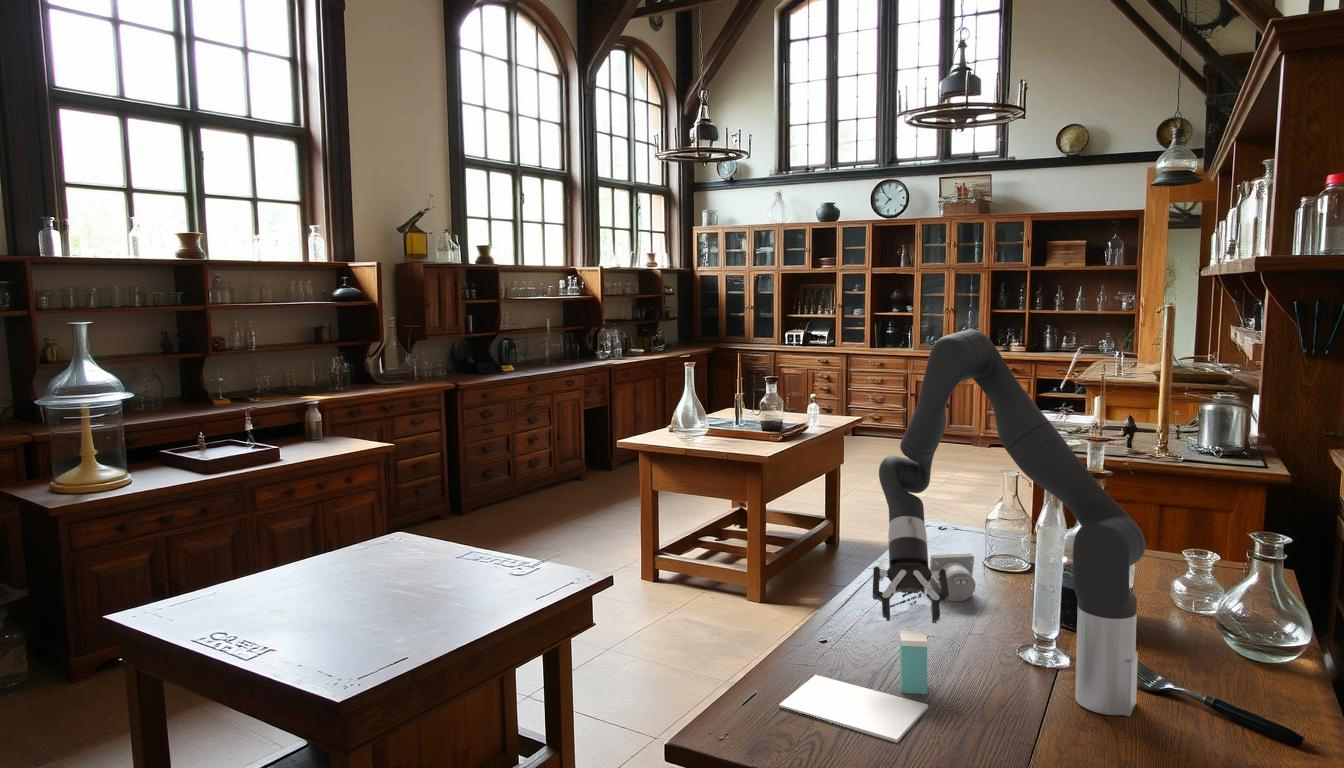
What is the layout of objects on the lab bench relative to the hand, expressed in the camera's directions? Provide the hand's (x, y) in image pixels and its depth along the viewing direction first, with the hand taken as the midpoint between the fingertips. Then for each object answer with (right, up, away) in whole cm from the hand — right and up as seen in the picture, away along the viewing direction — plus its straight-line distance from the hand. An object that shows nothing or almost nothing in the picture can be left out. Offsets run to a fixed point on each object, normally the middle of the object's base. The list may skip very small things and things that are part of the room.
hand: (911, 620), depth 168 cm
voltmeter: (+14, -6, +37) cm, 40 cm away
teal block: (-1, -11, -5) cm, 12 cm away
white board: (-13, -12, -12) cm, 22 cm away
